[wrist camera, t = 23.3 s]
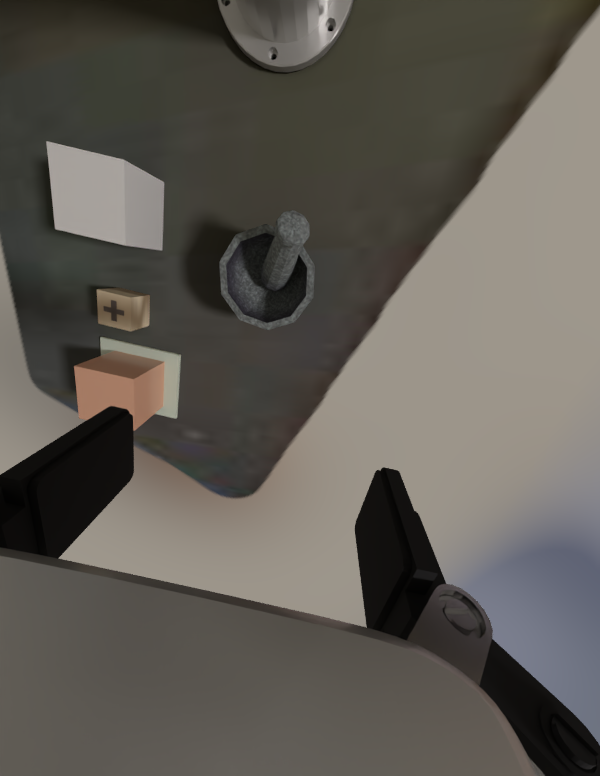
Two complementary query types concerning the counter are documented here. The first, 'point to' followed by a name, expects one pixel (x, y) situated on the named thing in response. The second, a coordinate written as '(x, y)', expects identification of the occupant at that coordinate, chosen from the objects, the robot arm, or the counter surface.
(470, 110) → the counter surface
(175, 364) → the sage pad
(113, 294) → the tan plus cube
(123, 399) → the orange-brown cube
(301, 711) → the robot arm
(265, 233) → the mortar and pestle
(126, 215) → the white cube
